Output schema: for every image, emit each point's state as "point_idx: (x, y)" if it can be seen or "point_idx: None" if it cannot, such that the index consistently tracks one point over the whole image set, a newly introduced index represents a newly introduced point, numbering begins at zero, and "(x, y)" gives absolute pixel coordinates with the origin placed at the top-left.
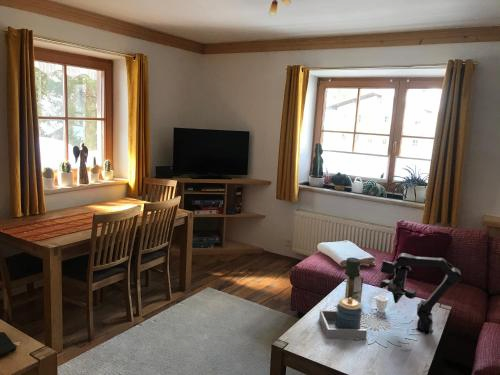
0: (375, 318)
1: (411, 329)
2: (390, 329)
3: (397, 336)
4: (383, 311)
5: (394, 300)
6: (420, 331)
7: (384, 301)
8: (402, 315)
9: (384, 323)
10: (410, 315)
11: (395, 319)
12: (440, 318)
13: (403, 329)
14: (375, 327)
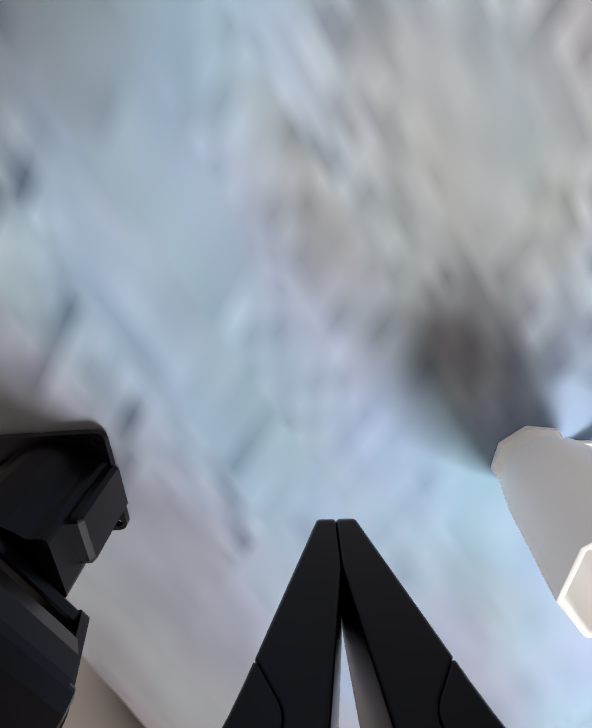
0: (495, 272)
1: (132, 400)
2: (244, 198)
3: (90, 117)
4: (500, 463)
5: (375, 564)
6: (57, 432)
7: (579, 536)
8: None
9: (366, 262)
10: None
11: (340, 435)
12: (147, 705)
13: (170, 331)
14: (384, 55)
